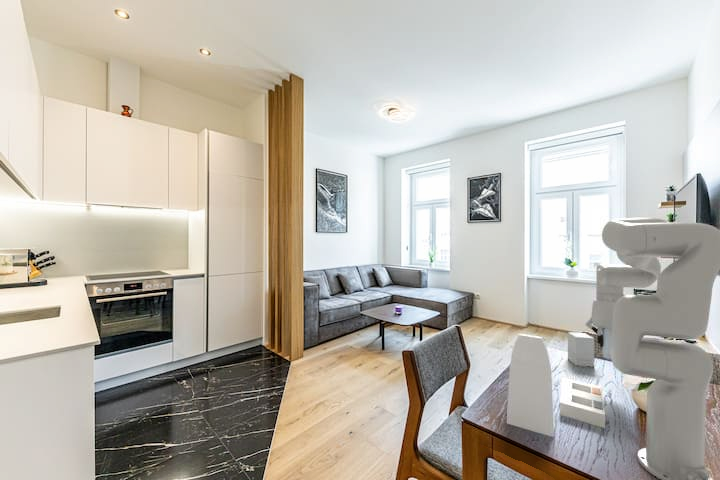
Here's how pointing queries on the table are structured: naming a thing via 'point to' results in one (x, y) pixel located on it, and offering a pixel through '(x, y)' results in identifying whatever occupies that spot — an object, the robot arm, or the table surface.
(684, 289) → the robot arm
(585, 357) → the supplement box
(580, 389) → the socket block
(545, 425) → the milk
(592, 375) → the table surface
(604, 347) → the plug
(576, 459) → the table surface
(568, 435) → the table surface
